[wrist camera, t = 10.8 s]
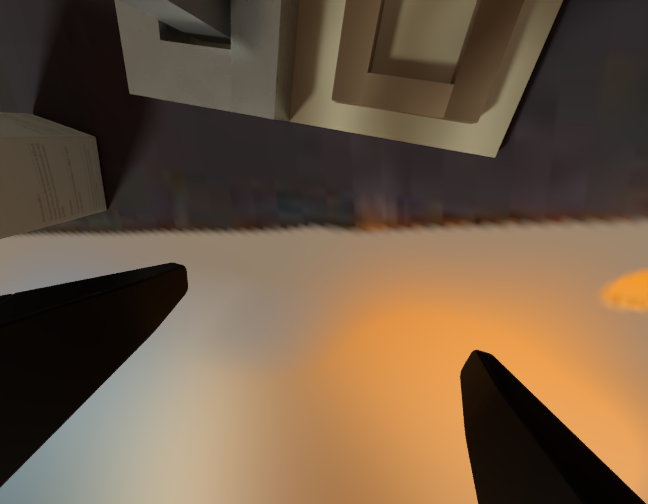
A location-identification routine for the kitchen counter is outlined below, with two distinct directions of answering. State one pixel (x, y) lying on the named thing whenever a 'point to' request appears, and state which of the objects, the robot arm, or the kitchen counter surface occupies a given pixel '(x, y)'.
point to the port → (216, 59)
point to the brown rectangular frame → (419, 95)
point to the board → (412, 69)
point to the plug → (192, 17)
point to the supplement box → (46, 174)
